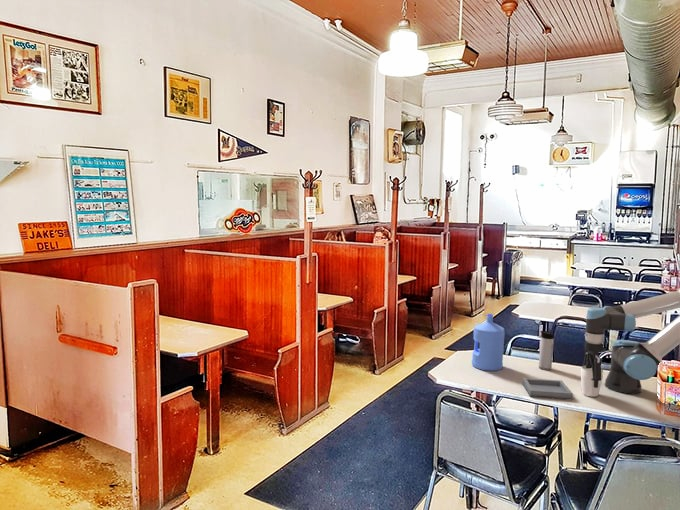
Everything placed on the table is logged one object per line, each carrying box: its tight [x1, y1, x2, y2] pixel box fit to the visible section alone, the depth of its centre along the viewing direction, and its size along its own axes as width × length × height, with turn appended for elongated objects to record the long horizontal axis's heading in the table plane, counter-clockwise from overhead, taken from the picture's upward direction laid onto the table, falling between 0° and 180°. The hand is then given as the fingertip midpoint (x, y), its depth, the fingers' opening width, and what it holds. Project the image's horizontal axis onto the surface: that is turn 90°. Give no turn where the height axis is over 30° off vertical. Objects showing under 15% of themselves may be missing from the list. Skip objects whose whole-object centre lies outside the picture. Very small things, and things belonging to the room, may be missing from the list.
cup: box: [580, 365, 604, 398], centre depth 229 cm, size 9×9×12 cm
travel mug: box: [538, 330, 555, 371], centre depth 264 cm, size 6×7×20 cm
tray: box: [521, 377, 573, 400], centre depth 233 cm, size 18×16×3 cm
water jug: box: [471, 313, 506, 372], centre depth 264 cm, size 16×16×28 cm
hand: (590, 389), depth 230 cm, fingers closed on cup, 9 cm apart
